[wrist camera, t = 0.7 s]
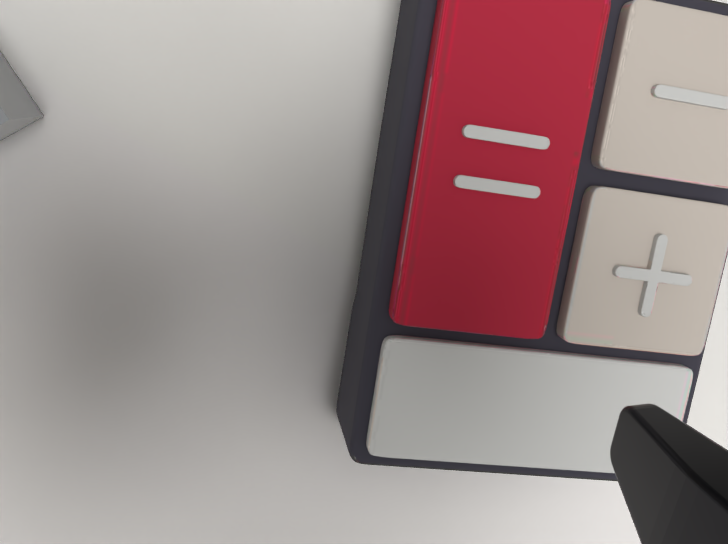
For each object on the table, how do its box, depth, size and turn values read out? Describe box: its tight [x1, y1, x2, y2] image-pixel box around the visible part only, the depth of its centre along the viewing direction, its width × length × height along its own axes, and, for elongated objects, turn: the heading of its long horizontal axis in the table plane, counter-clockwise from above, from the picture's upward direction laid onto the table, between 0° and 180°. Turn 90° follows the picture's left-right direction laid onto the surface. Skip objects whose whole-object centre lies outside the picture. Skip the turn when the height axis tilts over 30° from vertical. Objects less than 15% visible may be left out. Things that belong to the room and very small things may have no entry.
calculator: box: [337, 0, 728, 481], centre depth 22 cm, size 11×4×15 cm
